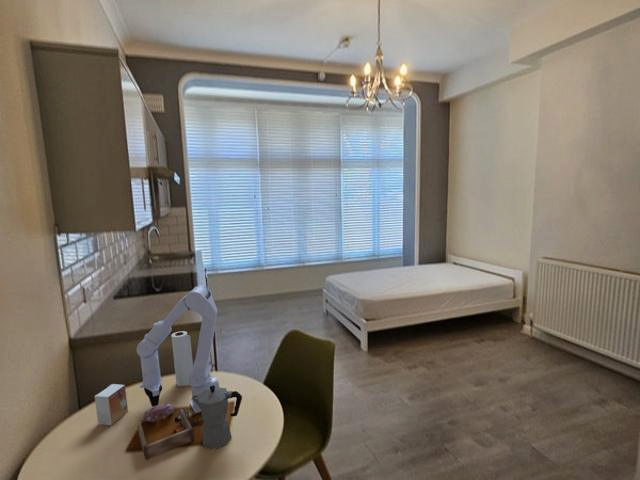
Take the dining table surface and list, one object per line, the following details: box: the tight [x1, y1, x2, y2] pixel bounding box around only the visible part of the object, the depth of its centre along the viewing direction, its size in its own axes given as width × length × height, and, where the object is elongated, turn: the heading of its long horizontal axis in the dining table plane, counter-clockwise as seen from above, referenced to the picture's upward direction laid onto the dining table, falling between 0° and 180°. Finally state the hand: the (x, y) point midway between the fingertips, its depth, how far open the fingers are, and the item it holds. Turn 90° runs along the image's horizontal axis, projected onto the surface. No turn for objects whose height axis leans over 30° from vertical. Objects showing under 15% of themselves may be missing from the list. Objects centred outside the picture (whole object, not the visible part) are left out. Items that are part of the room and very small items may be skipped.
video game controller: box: [142, 403, 175, 423], centre depth 121 cm, size 10×5×7 cm, turn 118°
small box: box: [94, 383, 129, 426], centre depth 123 cm, size 8×6×10 cm
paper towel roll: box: [171, 330, 194, 387], centre depth 143 cm, size 7×6×21 cm
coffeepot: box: [191, 385, 243, 450], centre depth 109 cm, size 15×9×18 cm, turn 94°
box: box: [137, 408, 195, 461], centre depth 112 cm, size 14×13×4 cm
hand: (155, 405), depth 128 cm, fingers closed
